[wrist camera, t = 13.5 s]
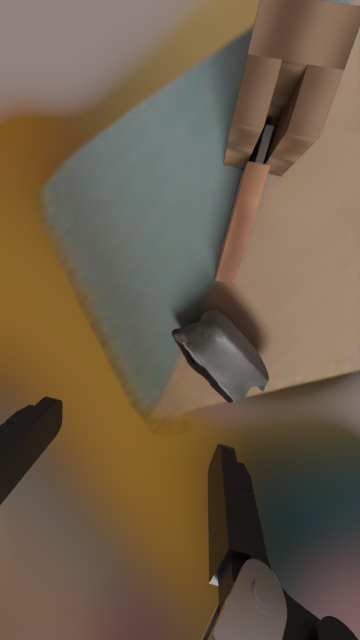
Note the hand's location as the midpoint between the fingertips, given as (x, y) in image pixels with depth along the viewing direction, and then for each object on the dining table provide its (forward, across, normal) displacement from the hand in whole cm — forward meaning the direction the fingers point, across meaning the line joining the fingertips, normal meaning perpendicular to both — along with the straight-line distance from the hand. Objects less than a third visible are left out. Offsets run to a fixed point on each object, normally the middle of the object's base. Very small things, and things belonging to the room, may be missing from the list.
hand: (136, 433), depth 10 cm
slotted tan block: (+30, -5, -27) cm, 41 cm away
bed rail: (+30, -5, -15) cm, 34 cm away
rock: (+30, -9, +9) cm, 33 cm away
